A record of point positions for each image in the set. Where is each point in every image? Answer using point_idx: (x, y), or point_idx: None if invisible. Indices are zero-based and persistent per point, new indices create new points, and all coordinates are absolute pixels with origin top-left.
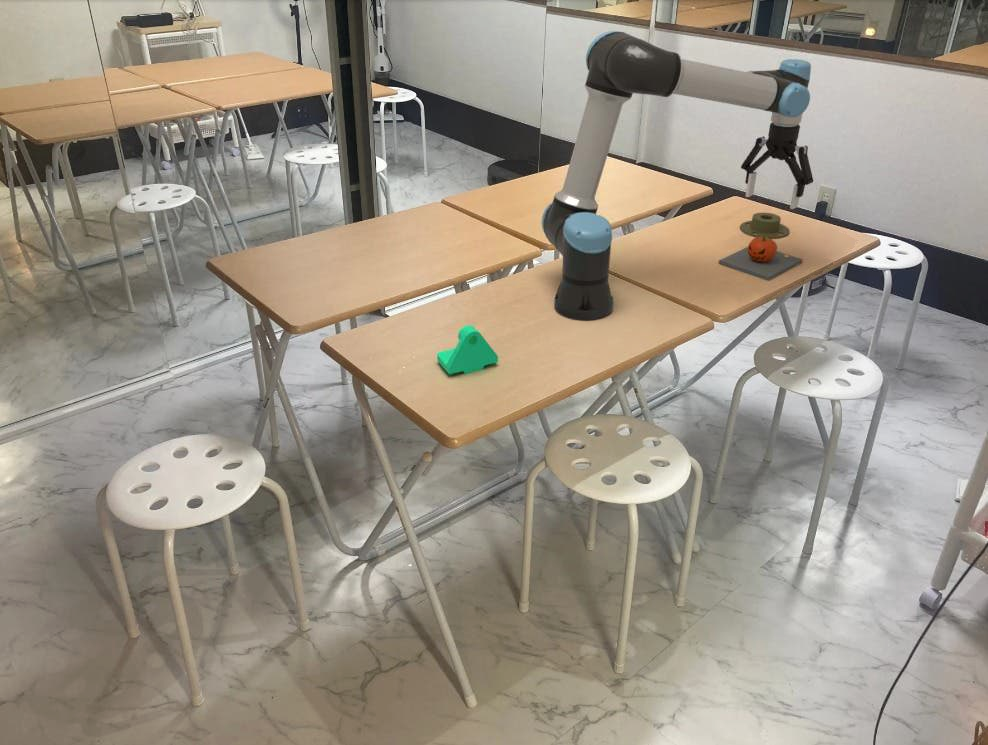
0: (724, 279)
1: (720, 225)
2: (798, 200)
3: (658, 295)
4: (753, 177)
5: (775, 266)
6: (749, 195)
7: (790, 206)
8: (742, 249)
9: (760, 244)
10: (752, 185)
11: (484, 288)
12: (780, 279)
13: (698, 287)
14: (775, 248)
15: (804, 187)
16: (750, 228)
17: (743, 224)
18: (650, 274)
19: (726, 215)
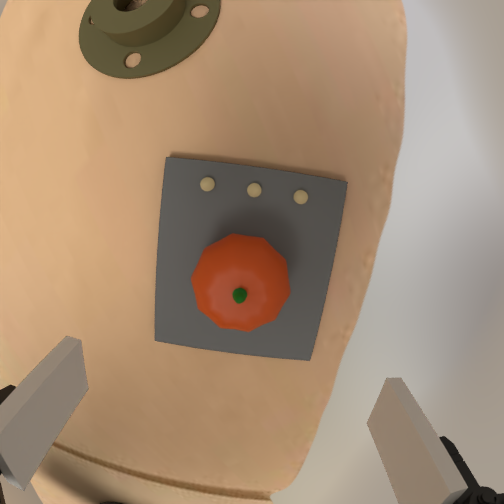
0: (218, 402)
1: (39, 78)
2: (415, 407)
3: (170, 485)
4: (25, 447)
5: (299, 288)
6: (83, 379)
7: (371, 432)
8: (160, 225)
9: (244, 328)
10: (52, 404)
11: (43, 500)
12: (331, 331)
13: (199, 449)
14: (288, 287)
15: (473, 477)
16: (109, 39)
17: (84, 31)
18: (103, 438)
19: (36, 14)
